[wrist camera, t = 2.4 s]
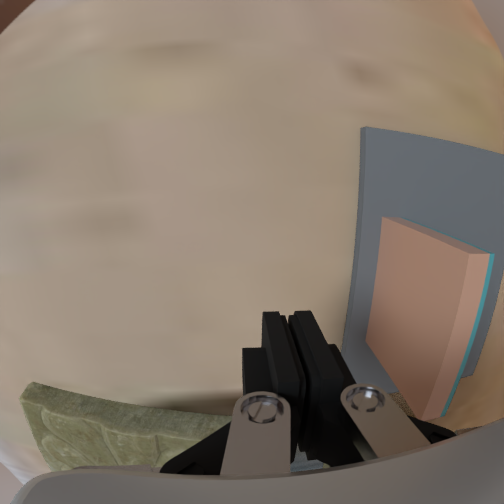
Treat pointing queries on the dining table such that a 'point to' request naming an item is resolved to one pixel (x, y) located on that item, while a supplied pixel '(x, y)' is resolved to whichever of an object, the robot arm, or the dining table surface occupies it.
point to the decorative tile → (109, 429)
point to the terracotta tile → (426, 311)
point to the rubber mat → (424, 212)
